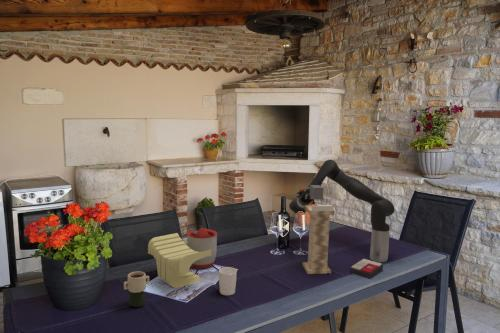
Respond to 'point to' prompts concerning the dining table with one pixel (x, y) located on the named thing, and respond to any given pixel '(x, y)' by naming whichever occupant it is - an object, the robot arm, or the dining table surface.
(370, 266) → the black red flat box
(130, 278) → the character mug
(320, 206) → the power strip
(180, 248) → the slatted curved stool
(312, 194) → the charger
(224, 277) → the white cup
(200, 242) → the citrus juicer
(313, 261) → the pedestal column stand
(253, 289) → the dining table surface
